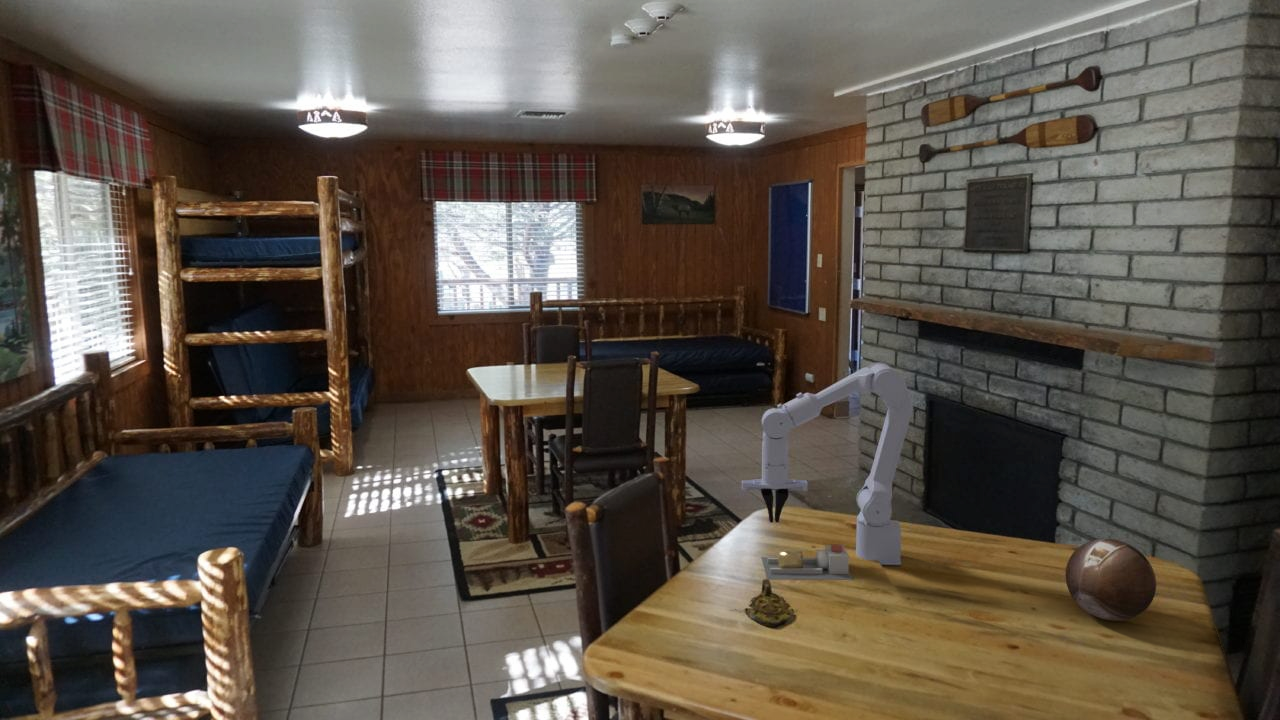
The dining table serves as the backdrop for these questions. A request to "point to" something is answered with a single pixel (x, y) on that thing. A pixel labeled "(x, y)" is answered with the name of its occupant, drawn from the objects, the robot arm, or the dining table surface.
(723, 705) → the dining table surface
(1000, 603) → the dining table surface
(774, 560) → the valve board
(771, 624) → the seal
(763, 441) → the robot arm
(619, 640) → the dining table surface
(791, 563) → the brass fitting
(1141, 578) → the wooden sphere
